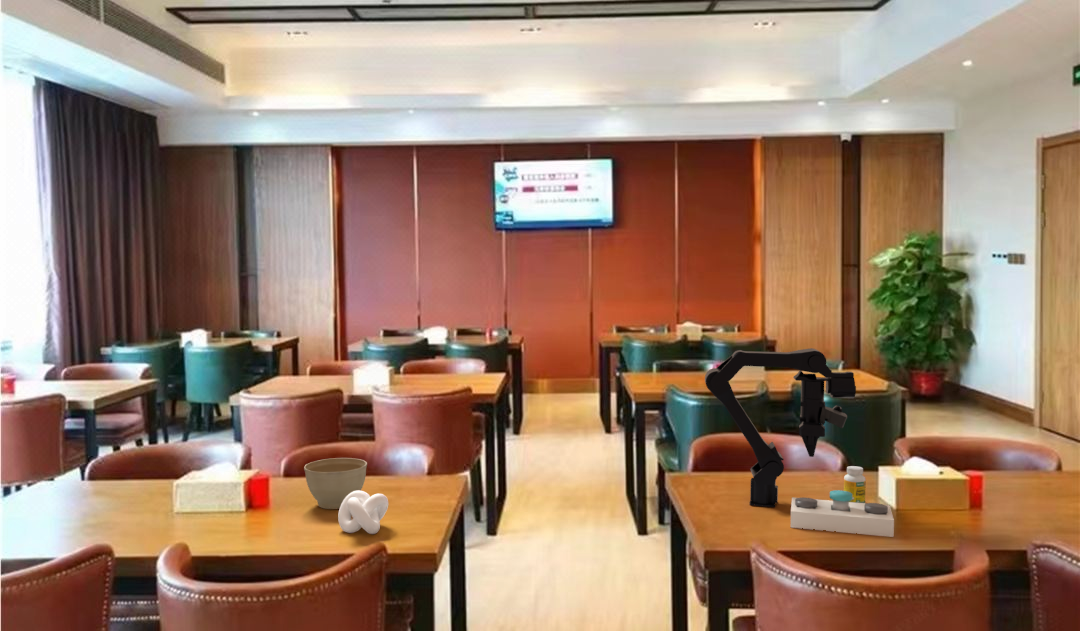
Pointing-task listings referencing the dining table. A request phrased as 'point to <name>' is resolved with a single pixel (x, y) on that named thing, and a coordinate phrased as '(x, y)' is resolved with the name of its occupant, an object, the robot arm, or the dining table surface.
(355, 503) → the white knot sculpture
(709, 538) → the dining table surface
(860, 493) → the supplement bottle
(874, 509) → the knob
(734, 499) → the dining table surface
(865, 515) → the knob mount
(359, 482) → the planter bowl
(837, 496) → the middle knob
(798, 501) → the knob
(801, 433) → the robot arm
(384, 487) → the dining table surface
